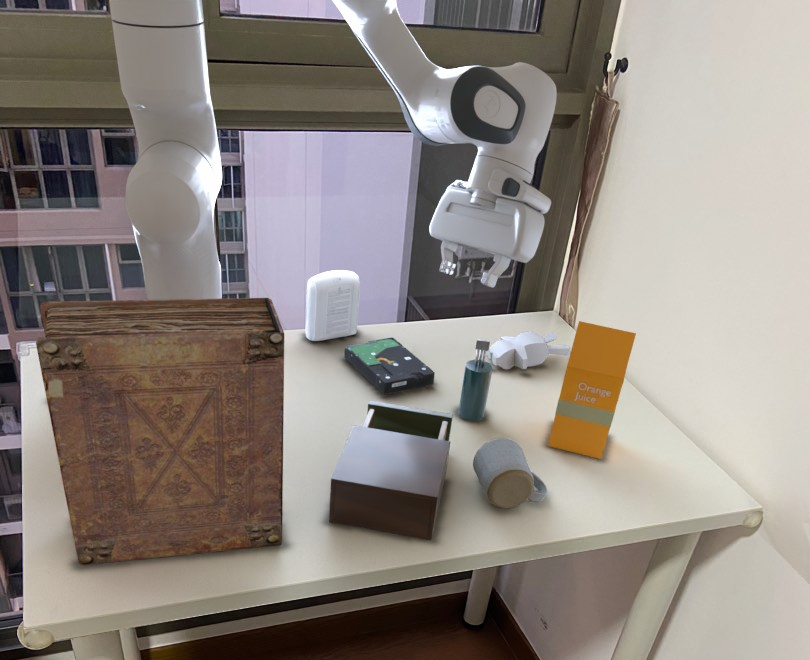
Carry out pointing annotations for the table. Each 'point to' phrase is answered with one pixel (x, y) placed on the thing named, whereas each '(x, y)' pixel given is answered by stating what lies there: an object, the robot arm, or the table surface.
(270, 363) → the book
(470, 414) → the cutlery cup
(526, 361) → the bunny figurine
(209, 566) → the table surface
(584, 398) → the orange juice
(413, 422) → the drawer
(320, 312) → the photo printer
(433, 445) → the cabinet
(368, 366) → the disk drive
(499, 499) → the ceramic mug
